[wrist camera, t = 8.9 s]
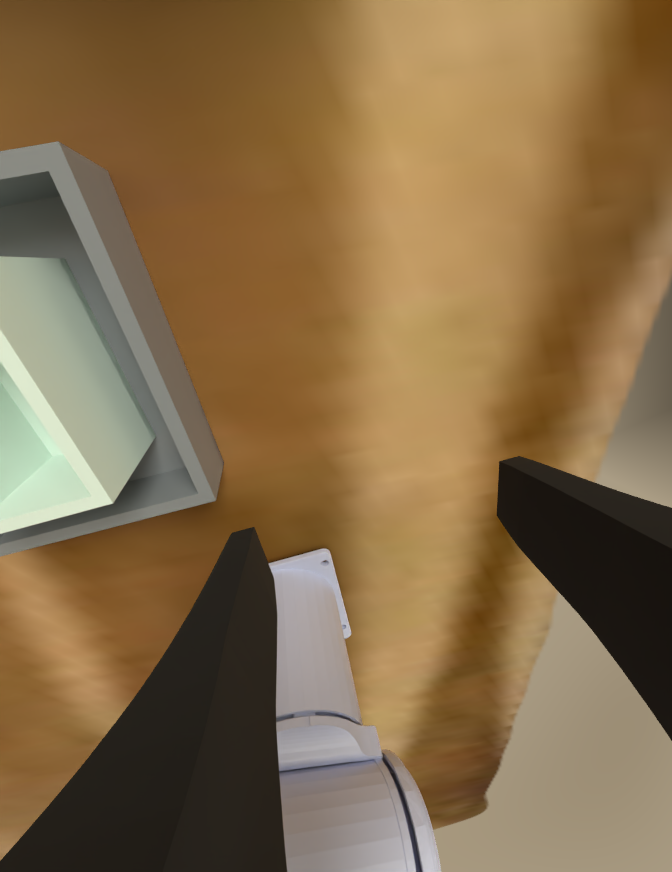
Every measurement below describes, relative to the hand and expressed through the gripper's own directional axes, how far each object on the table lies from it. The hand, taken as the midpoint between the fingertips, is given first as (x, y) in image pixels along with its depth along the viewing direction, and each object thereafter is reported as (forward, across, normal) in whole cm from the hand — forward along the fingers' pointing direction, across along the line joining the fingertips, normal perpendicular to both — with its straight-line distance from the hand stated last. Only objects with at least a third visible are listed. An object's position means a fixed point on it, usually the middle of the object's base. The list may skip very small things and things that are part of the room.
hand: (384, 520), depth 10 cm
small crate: (+9, +11, -4) cm, 15 cm away
